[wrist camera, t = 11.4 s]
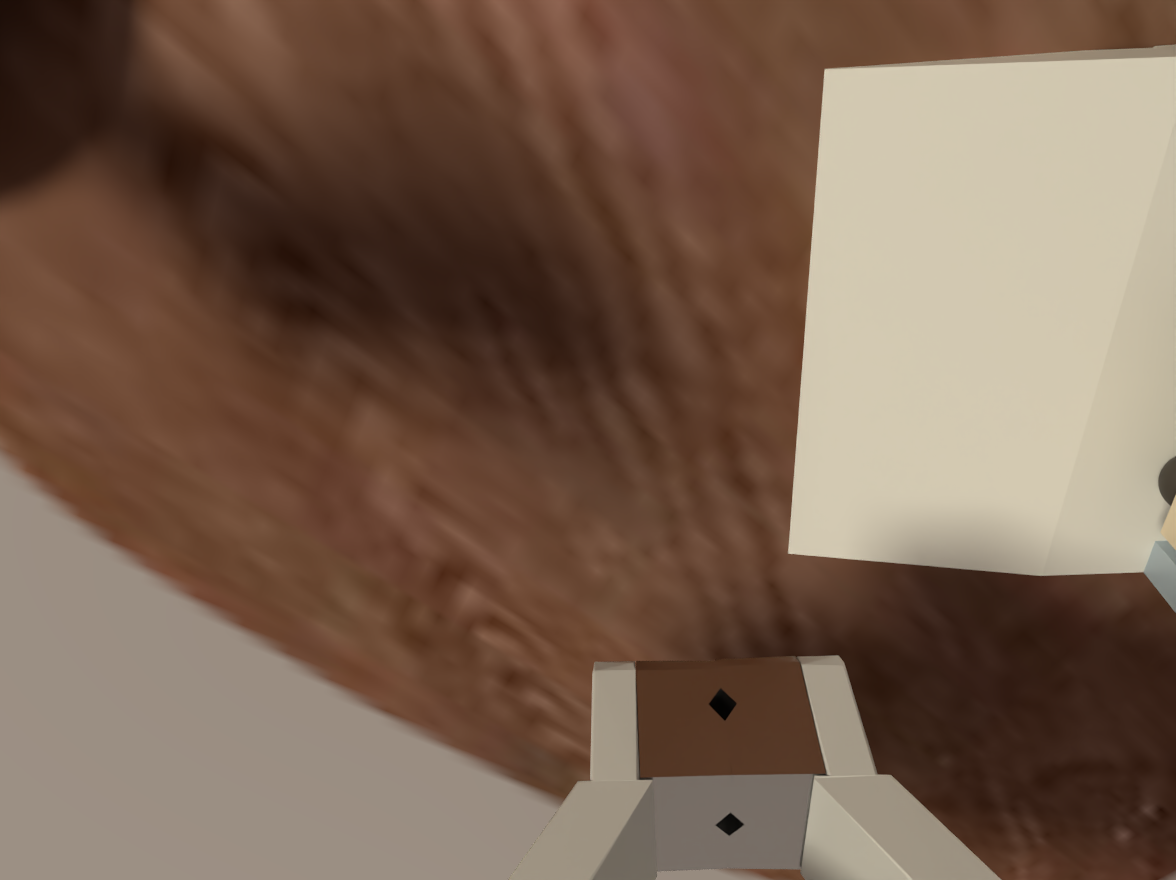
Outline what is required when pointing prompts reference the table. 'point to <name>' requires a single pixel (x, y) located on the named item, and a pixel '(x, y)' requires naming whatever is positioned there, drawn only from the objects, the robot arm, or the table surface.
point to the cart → (1169, 499)
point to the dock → (993, 316)
